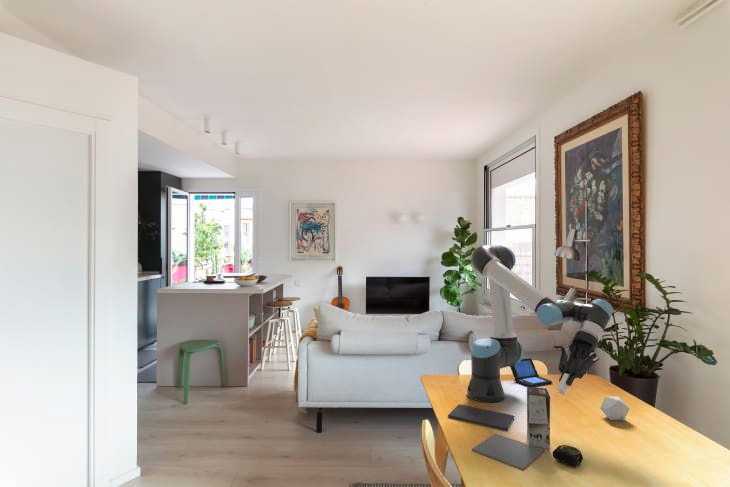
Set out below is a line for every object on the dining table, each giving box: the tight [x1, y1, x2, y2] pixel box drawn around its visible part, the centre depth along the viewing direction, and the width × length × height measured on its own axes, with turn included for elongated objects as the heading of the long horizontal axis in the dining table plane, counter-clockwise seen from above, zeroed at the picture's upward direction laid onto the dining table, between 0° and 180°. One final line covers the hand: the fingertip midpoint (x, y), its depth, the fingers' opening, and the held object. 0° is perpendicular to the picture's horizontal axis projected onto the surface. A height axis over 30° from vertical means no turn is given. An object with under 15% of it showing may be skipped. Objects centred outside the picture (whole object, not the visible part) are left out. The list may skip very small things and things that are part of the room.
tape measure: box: [552, 444, 584, 468], centre depth 117 cm, size 7×7×4 cm
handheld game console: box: [510, 357, 553, 387], centre depth 192 cm, size 16×13×9 cm
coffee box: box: [526, 386, 551, 450], centre depth 130 cm, size 9×6×16 cm
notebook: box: [447, 403, 515, 432], centre depth 148 cm, size 13×2×21 cm
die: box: [599, 396, 631, 421], centre depth 149 cm, size 8×9×10 cm
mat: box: [471, 433, 545, 472], centre depth 123 cm, size 16×16×1 cm
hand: (560, 391), depth 135 cm, fingers closed
